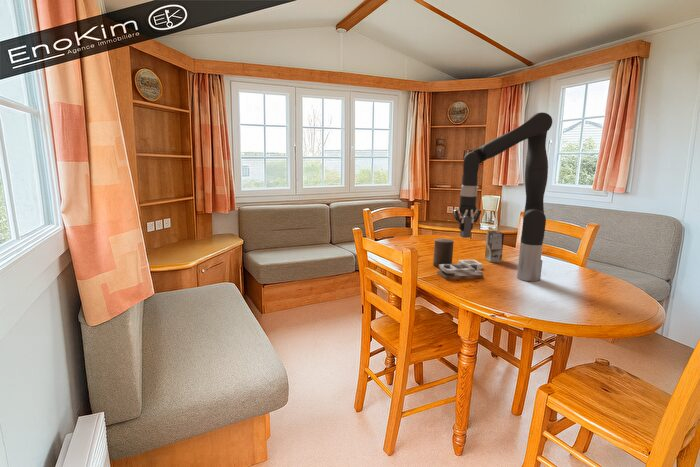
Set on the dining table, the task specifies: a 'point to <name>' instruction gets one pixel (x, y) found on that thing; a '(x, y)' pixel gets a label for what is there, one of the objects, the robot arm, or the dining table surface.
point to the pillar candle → (443, 252)
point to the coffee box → (494, 246)
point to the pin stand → (469, 262)
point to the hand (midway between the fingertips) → (465, 230)
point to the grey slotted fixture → (459, 271)
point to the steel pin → (466, 227)
